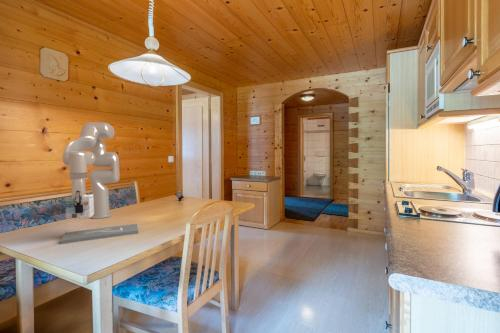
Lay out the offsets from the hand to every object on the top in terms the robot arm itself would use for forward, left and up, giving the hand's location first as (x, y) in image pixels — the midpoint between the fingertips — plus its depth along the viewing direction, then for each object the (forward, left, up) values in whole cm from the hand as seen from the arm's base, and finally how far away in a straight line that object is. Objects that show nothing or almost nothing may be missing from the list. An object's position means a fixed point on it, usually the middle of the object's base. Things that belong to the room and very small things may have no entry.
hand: (80, 211), depth 133 cm
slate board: (0, +9, -13) cm, 16 cm away
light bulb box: (0, 0, -3) cm, 3 cm away
